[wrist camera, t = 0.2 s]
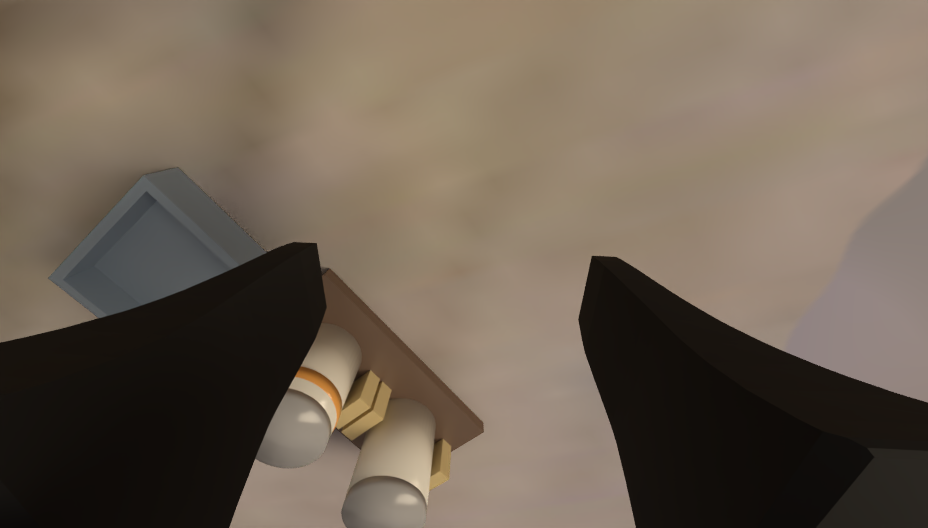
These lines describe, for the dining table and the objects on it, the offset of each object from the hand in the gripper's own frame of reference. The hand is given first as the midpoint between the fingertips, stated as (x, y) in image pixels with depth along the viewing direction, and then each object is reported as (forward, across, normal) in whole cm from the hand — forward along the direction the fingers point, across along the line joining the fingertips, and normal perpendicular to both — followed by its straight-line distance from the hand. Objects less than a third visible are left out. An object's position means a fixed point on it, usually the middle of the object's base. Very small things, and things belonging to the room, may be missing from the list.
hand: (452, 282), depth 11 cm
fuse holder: (+9, +5, +13) cm, 16 cm away
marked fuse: (+8, +8, +10) cm, 15 cm away
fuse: (+8, +3, +15) cm, 17 cm away
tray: (+10, +15, +6) cm, 18 cm away
